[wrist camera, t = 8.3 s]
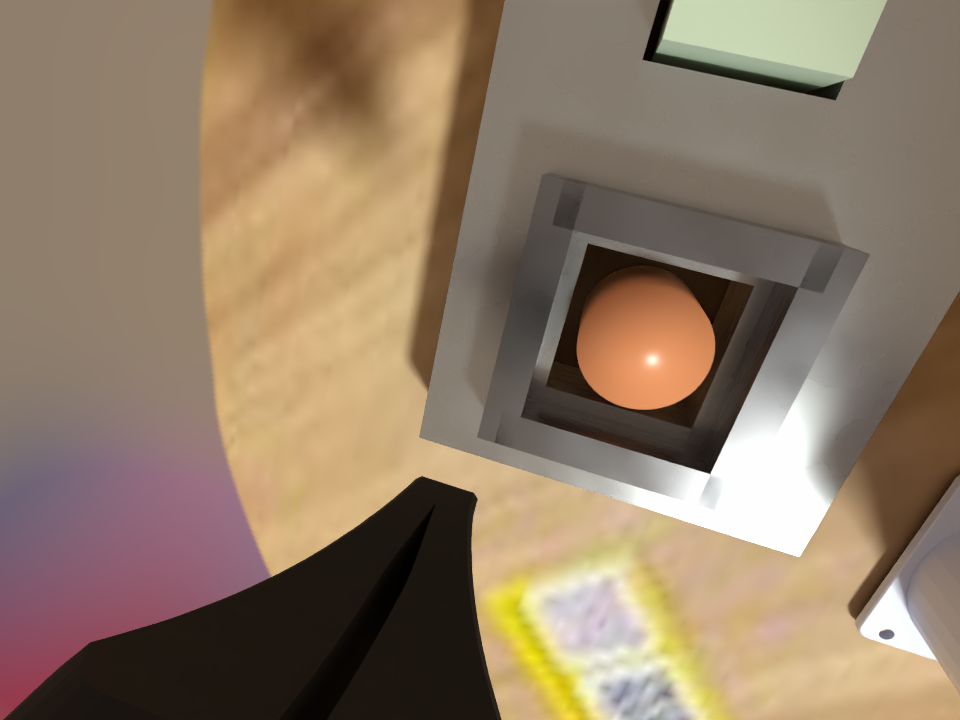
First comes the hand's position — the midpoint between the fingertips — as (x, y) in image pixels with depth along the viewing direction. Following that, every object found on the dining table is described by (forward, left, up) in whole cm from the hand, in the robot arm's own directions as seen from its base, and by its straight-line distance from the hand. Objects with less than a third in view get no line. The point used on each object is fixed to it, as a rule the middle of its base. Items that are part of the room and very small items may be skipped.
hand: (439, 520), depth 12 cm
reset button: (-4, -3, -9) cm, 11 cm away
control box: (-5, -8, -10) cm, 14 cm away
